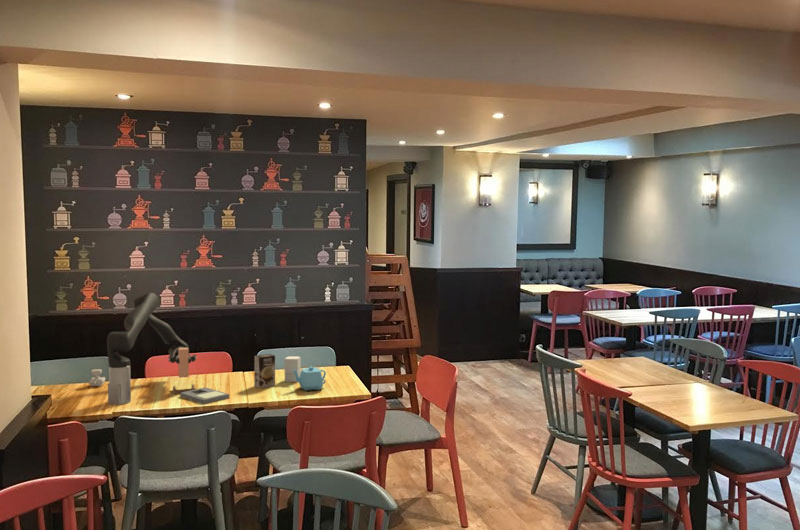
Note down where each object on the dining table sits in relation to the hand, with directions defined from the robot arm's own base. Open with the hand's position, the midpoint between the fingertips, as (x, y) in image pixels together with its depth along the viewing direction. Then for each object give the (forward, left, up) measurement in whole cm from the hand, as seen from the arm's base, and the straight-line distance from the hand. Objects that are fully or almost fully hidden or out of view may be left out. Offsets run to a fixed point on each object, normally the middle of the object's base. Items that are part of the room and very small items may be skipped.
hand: (184, 361), depth 321 cm
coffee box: (+23, -32, -16) cm, 43 cm away
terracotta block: (+2, +2, -8) cm, 8 cm away
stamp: (-1, +51, -16) cm, 53 cm away
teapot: (+24, -56, -16) cm, 63 cm away
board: (-5, -15, -16) cm, 22 cm away
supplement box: (+38, -41, -16) cm, 59 cm away
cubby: (+2, +2, -16) cm, 16 cm away
